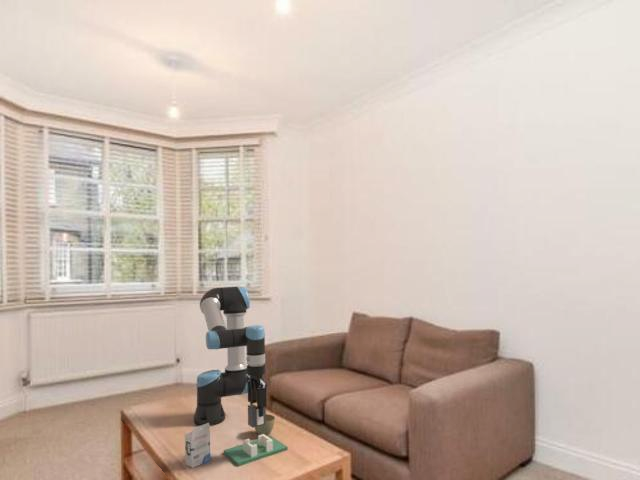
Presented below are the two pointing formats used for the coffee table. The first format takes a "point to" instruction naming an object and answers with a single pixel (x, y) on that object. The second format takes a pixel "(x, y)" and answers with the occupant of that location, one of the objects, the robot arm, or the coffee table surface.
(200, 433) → the ink box
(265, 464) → the coffee table surface
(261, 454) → the board
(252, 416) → the plug
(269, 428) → the flower pot
